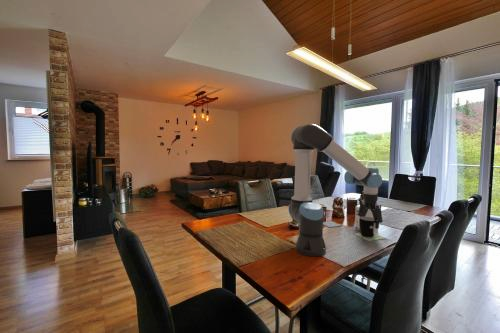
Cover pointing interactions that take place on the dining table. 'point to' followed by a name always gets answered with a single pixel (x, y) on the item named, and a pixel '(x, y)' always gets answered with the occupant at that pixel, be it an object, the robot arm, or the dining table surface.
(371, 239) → the sage coaster
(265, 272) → the dining table surface
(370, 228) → the mug
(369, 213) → the wall box
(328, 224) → the slate coaster
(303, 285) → the dining table surface
